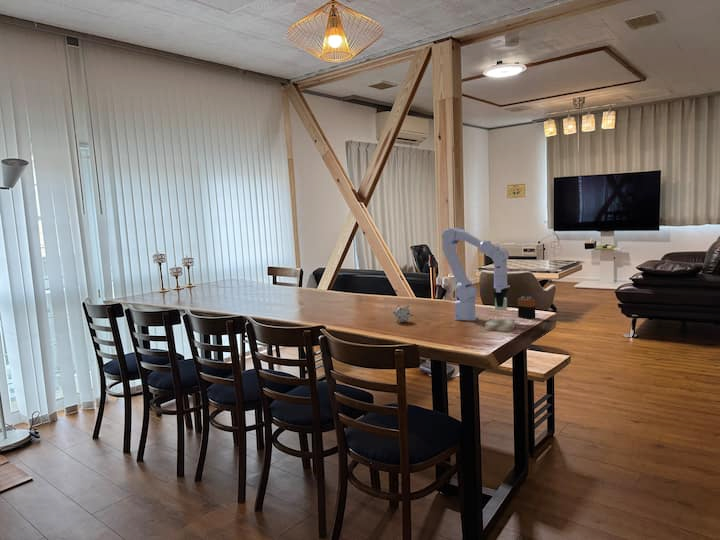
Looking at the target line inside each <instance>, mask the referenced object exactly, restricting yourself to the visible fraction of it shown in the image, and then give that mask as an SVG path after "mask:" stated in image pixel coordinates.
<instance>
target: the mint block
mask: <svg viewBox="0 0 720 540" xmlns="http://www.w3.org/2000/svg"><path fill="white" fill-rule="evenodd" d="M507 309H508V297H504V301H503V306H502V307H498V306H497V302H496V298H494V310H495V311H506V310H507Z"/></svg>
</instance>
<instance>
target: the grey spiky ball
mask: <svg viewBox="0 0 720 540" xmlns="http://www.w3.org/2000/svg"><path fill="white" fill-rule="evenodd" d="M392 314H394V316H395V319H396V320H397V321H396V323H398V322H405V323H406V324H408V320H409V319H410V317H413V316H414V315H413V314H411V311H410V309H409V305H407V306H400V305H399V304H398V305H397V308H396V310H395V311H394V312H392Z"/></svg>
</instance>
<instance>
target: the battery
mask: <svg viewBox="0 0 720 540" xmlns="http://www.w3.org/2000/svg"><path fill="white" fill-rule="evenodd" d="M517 317H518V318H519V317H520V319H525V318H527V319H526V320H532V319H531V318H533V319H536V299H535V298H532V296H527V297H525V295H522V296H521V297H519V298H517Z"/></svg>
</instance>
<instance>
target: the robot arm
mask: <svg viewBox="0 0 720 540" xmlns="http://www.w3.org/2000/svg"><path fill="white" fill-rule="evenodd" d="M441 240H442V252H443V254H444V256H445V258H446V261H447V263H448V266H449V268H450V270H451V273H452V275H453V278H454V280H455V282H456V285H455V290H456V297H457V298H458V299H457V300H455V301H454V320H455V321H476V320H477V319H478V316H477V315H476V296H477V294H478V290H477V287H476V286H475V285H473V283H472V281H471V280H469V278H468V276H467V274H466V272H465V269H464V267H463V265H462V263H461V261H460V258H459V256H458V254H457V251H456V248H457V247H456V246H457V244H458V243H459V242H460V241H465V242H466V243H469V244H470V245H472V246H474V247H476V248H478V252H480V253H481V254H482V255H485V256H487V257H489V258H490V259H491V260H492V262H493V289H494V290H493V291H492V294H493V296H494V297H495V298H496V302H497V306H498V307H502V306H503V301H504V297H506V296H507V293H508V291H509V288H510V287H511V285H510V284H509V285H508V260H509V257H510V254H509V251H508V250H507V249H505V248H501V247H500V246H499V245H495V244H493V243H492V242H491V240H481V239H479V238H477V237H475V236H474V235H473V234H471V233H469V232H468V231H466V229H463V228H462V229H461V228H460V227H457V226H456V227H451V228H450V227H447V228H445V229H444V230H443V231H442V234H441ZM495 298H494V299H495Z"/></svg>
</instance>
